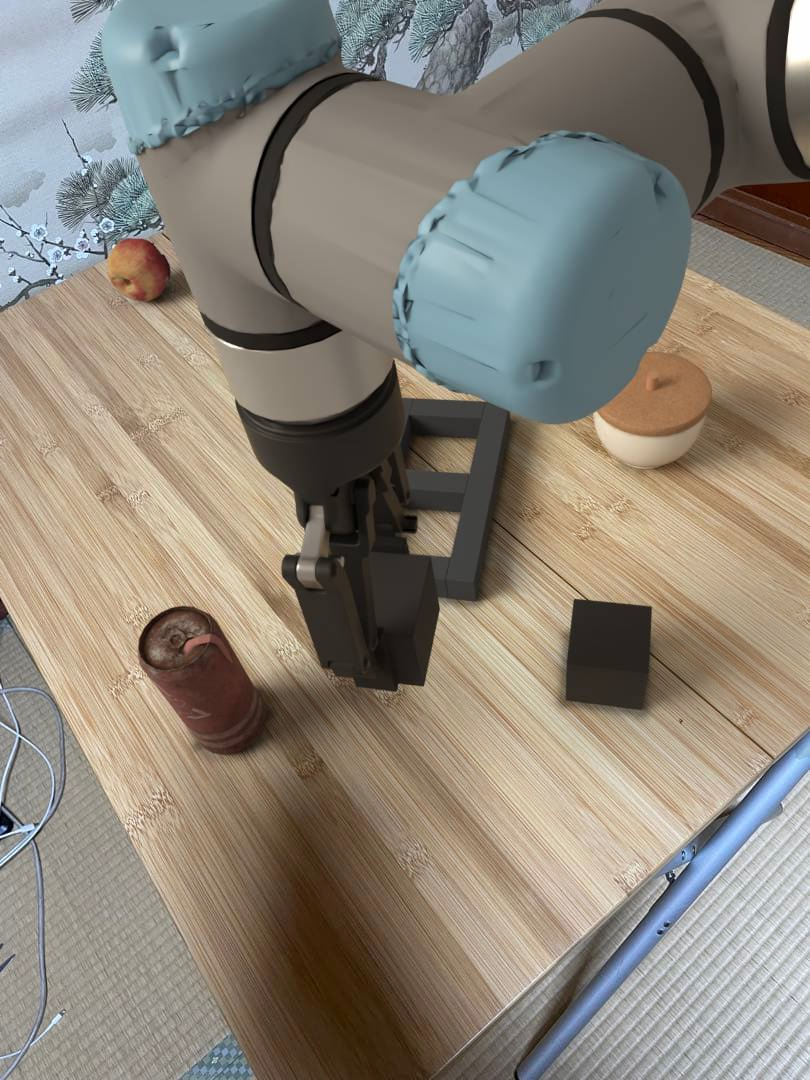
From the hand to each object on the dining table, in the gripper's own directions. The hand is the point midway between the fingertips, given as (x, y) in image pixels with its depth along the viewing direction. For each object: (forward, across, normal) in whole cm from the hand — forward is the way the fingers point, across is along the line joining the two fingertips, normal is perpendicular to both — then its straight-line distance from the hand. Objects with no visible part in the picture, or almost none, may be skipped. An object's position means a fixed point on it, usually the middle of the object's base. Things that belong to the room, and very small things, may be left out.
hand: (388, 639), depth 55 cm
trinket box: (+15, -34, +17) cm, 41 cm away
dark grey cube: (0, 0, 0) cm, 0 cm away
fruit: (+16, -58, -48) cm, 76 cm away
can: (+15, +1, -16) cm, 22 cm away
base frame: (+15, -25, -3) cm, 29 cm away
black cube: (+15, -8, +14) cm, 22 cm away
